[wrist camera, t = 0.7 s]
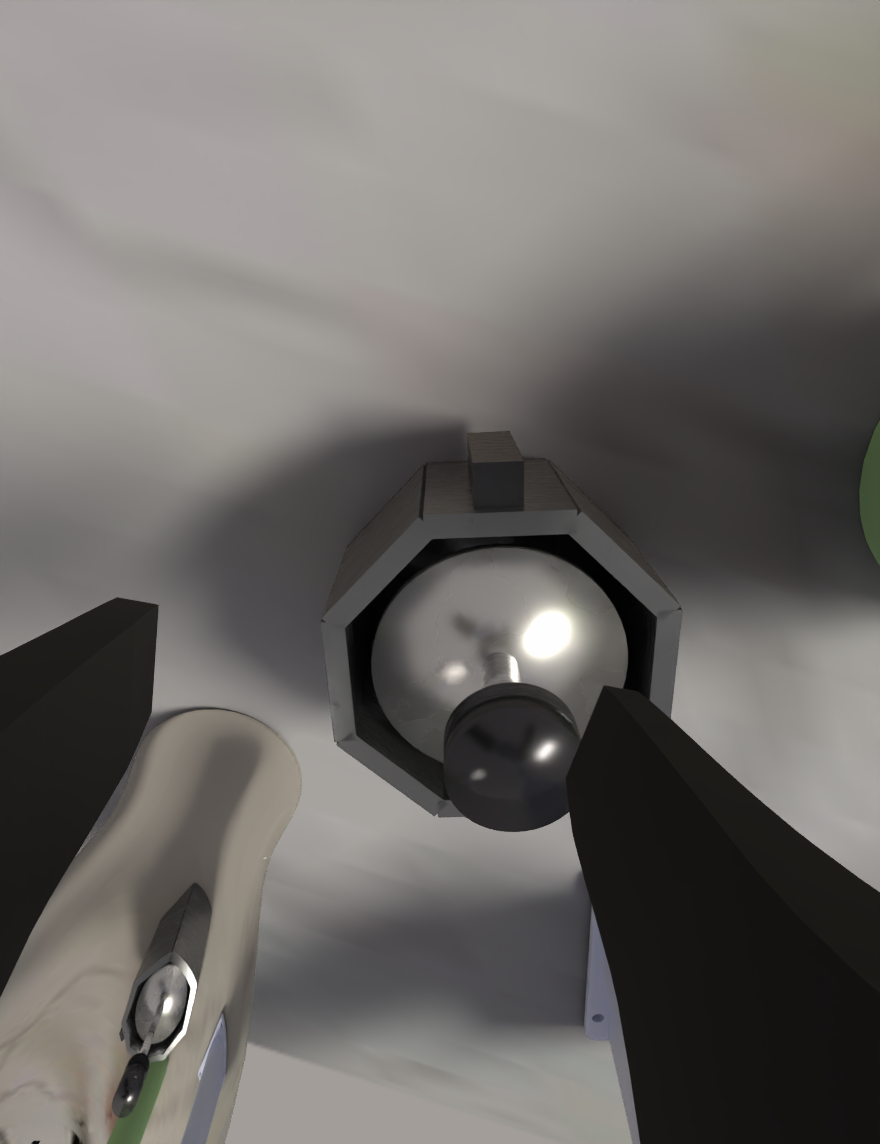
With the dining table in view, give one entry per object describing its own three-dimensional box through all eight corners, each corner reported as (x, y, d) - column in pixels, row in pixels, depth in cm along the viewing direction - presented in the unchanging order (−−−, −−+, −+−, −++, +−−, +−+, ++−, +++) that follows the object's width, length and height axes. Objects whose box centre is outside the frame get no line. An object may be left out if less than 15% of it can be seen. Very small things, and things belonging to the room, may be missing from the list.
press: (616, 706, 24) (660, 810, 19) (362, 715, 24) (343, 820, 19) (637, 418, 20) (699, 458, 15) (334, 430, 20) (302, 473, 16)
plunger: (616, 759, 20) (666, 893, 15) (381, 767, 20) (365, 901, 15) (632, 538, 17) (699, 622, 13) (362, 548, 17) (336, 635, 13)
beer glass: (162, 859, 27) (-136, 1470, 13) (96, 712, 24) (-367, 1281, 10) (334, 834, 26) (216, 1441, 12) (286, 682, 24) (69, 1236, 10)
